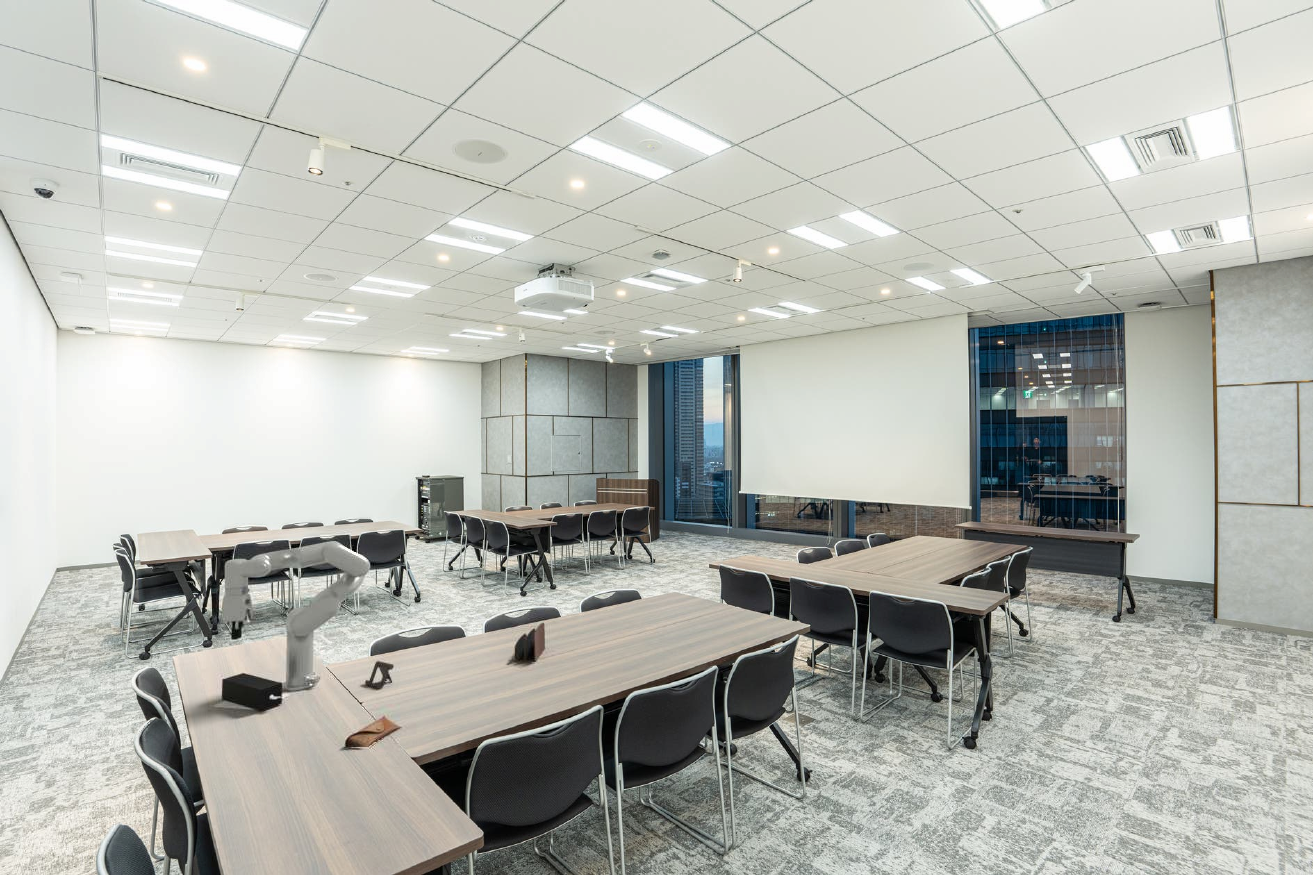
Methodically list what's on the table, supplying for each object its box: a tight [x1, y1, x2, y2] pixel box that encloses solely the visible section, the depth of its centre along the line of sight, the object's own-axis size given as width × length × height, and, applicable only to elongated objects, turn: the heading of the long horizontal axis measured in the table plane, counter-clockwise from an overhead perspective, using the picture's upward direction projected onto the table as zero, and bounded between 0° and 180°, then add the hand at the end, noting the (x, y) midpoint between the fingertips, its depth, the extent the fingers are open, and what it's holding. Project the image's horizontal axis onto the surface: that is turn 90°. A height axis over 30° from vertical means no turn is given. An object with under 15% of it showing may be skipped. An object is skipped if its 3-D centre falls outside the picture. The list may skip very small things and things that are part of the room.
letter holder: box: [513, 622, 546, 664], centre depth 289 cm, size 10×20×14 cm, turn 178°
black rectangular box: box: [221, 672, 283, 712], centre depth 233 cm, size 8×8×28 cm
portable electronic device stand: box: [364, 660, 394, 690], centre depth 253 cm, size 9×8×8 cm
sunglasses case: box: [344, 715, 402, 748], centre depth 206 cm, size 18×7×7 cm
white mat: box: [214, 693, 291, 710], centre depth 235 cm, size 20×14×1 cm
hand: (236, 638), depth 239 cm, fingers closed
